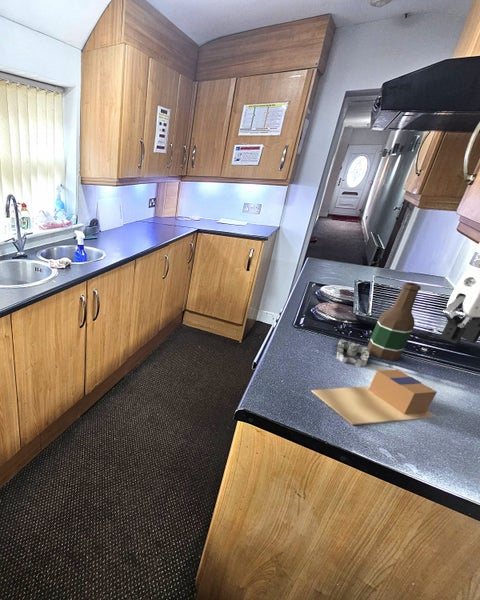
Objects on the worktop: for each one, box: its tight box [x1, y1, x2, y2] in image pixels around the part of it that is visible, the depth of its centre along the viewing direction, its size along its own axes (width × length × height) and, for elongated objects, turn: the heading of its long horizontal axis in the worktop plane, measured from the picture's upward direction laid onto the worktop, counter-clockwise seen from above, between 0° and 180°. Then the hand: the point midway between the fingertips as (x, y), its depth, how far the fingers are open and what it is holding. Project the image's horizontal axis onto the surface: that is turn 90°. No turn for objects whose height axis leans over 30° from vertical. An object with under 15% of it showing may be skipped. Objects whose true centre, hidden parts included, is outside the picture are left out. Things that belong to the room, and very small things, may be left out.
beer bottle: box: [366, 282, 422, 362], centre depth 96 cm, size 8×8×24 cm
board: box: [310, 386, 438, 426], centre depth 80 cm, size 22×12×1 cm, turn 97°
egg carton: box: [335, 338, 370, 368], centre depth 98 cm, size 11×8×4 cm
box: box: [368, 368, 438, 414], centre depth 80 cm, size 6×9×6 cm, turn 7°
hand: (457, 339), depth 75 cm, fingers open, 4 cm apart
